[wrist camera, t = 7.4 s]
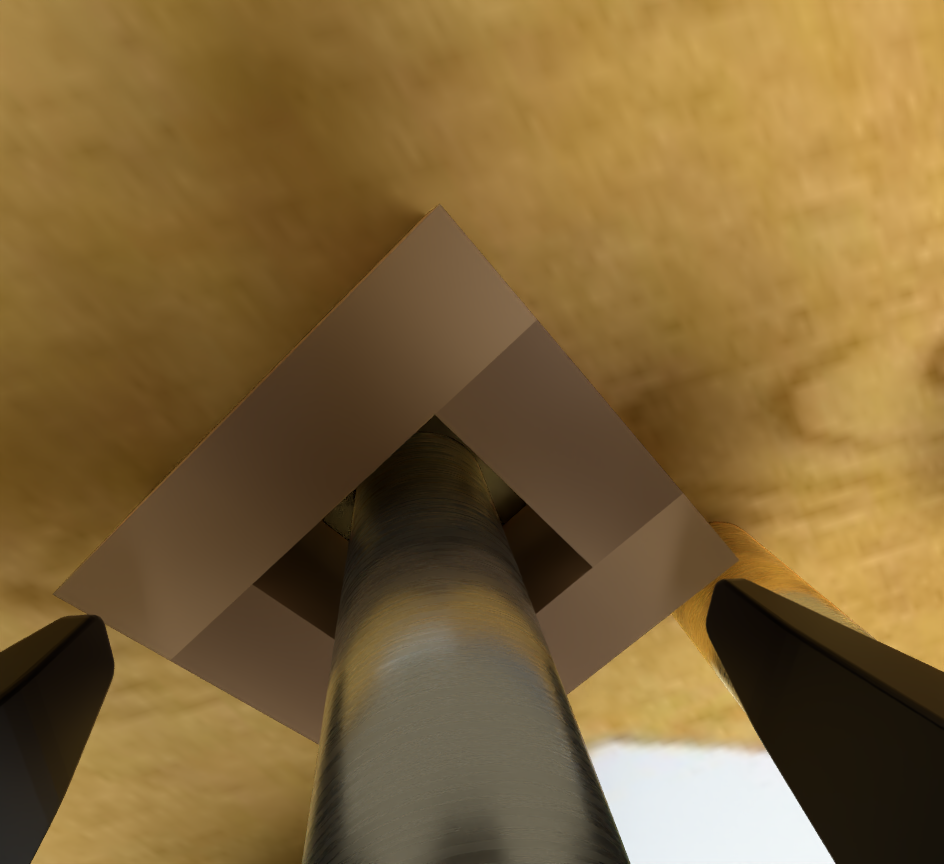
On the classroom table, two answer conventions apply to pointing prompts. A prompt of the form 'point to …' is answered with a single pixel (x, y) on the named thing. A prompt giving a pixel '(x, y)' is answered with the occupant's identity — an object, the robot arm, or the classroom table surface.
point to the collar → (361, 452)
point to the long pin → (446, 690)
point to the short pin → (761, 571)
